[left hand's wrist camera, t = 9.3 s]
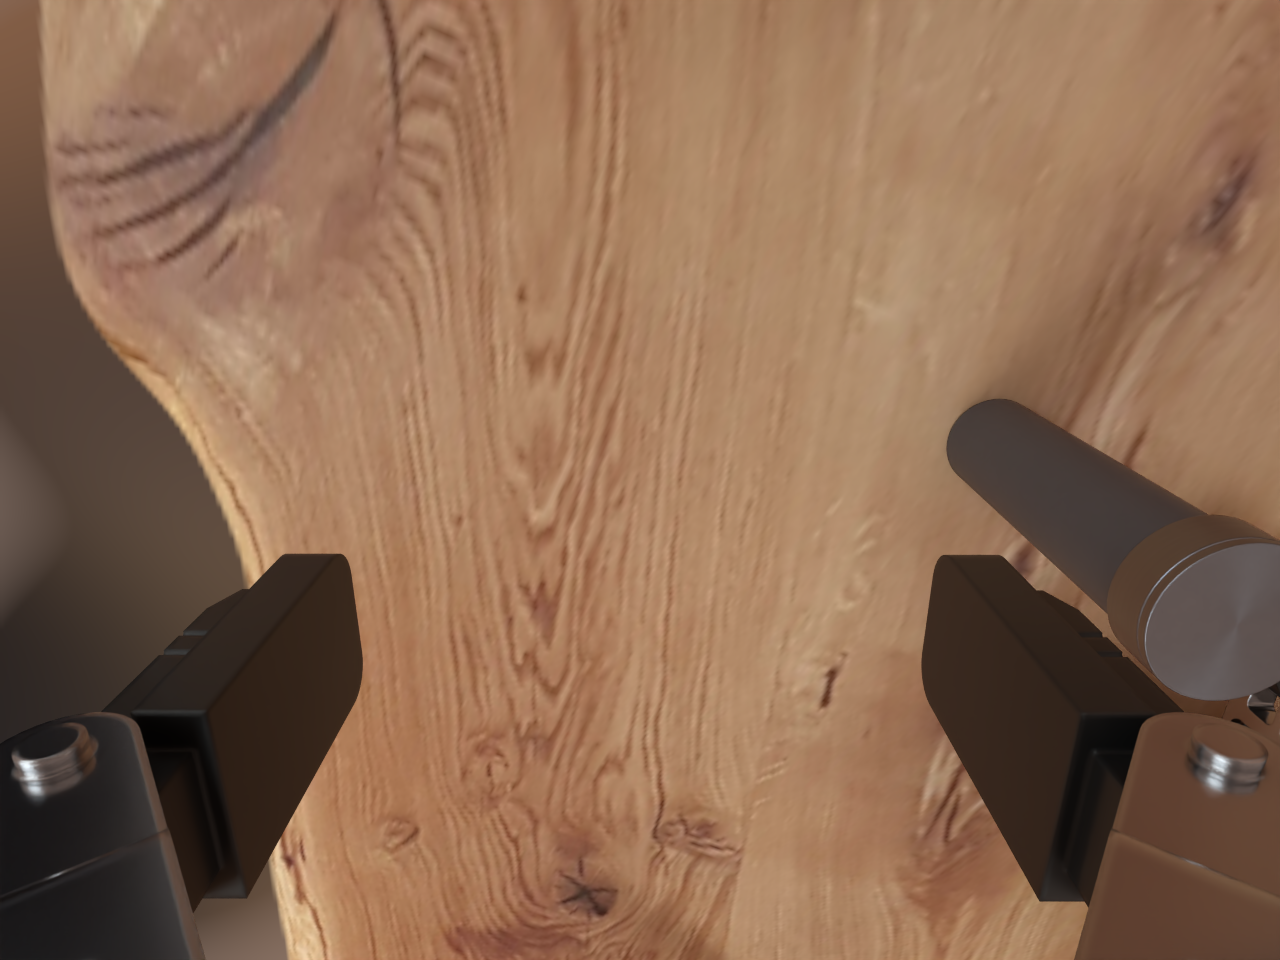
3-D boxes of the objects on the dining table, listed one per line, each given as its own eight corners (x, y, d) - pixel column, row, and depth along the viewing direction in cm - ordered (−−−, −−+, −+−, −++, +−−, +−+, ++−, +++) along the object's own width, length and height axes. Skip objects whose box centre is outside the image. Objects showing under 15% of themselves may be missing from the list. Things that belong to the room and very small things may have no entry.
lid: (1309, 591, 24) (1365, 625, 22) (1164, 690, 25) (1205, 731, 23) (1220, 480, 23) (1272, 507, 21) (1072, 591, 24) (1109, 625, 22)
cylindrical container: (1056, 442, 38) (1333, 616, 23) (982, 502, 39) (1199, 706, 24) (1002, 379, 37) (1254, 518, 22) (927, 442, 38) (1119, 617, 23)
